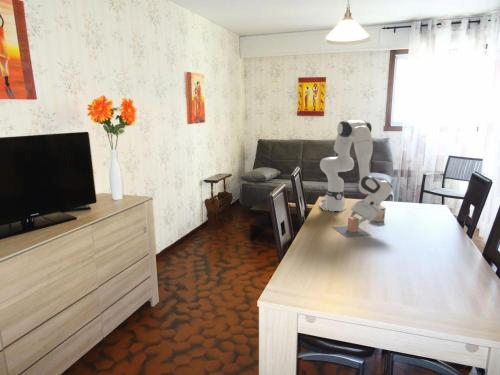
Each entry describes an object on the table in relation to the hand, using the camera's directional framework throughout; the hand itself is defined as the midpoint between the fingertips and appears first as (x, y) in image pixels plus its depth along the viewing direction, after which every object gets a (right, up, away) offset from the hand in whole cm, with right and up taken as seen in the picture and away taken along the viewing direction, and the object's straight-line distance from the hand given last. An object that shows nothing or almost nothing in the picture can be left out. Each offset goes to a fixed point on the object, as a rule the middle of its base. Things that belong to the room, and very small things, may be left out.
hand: (354, 220), depth 209 cm
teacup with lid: (+23, -2, +24) cm, 33 cm away
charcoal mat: (-1, -7, +1) cm, 7 cm away
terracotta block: (-1, -6, +1) cm, 7 cm away
